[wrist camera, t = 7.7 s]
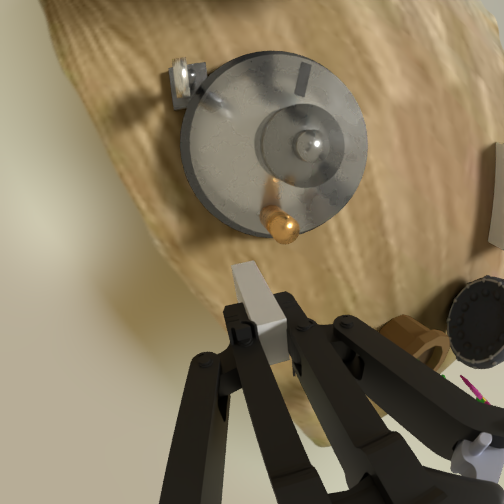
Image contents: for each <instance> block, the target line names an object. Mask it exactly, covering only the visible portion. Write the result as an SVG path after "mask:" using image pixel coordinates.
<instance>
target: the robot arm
mask: <svg viewBox="0 0 504 504" xmlns="http://www.w3.org/2000/svg"><path fill="white" fill-rule="evenodd" d="M231 267H232V273H233V278H234V284H235V289H236V294H237V299H238V303H237V304H232V305H228V306H225V308H224V311H223V314H224V318H225V323H226V327H227V331H228V335H229V339H230V344H229V346H228V348H227V349H226V350H224V351H223V352H221V353H219V354H215V353H213V352H202V353H200V354H197V355H196V356H195V357H194V358H193V359H192V361H191V363H190V367H189V371H188V375H187V379H186V383H185V388H184V392H183V396H182V400H181V405H180V408H179V413H178V417H177V421H176V426H175V430H174V435H173V439H172V444H171V448H170V453H169V457H168V462H167V466H166V472H165V476H164V481H163V486H162V491H161V496H160V501H159V504H221V501H222V488H223V477H224V465H225V453H226V441H227V430H228V418H229V408H230V394H231V393H233V392H235V391H237V390H239V389H241V388H242V389H243V393H244V396H245V400H246V403H247V407H248V410H249V414H250V417H251V421H252V424H253V427H254V431H255V434H256V437H257V441H258V444H259V447H260V450H261V453H262V457H263V460H264V463H265V466H266V470H267V472H268V476H269V479H270V482H271V485H272V488H273V491H274V494H275V497H276V500H277V503H278V504H504V490H503V488H502V487H501V486H500V485H498V481H499V478H500V475H501V471H502V468H503V464H504V408H500V407H496V406H493V405H489V404H485V403H482V402H479V401H477V400H476V399H474V398H473V397H472V396H470V395H469V394H467V393H466V392H464V391H463V390H461V389H460V388H459V387H457V386H456V385H454V384H453V383H451V382H450V381H448V380H447V379H446V378H444V377H443V376H441V375H440V374H438V373H437V372H435V371H434V370H433V369H431V368H430V367H428V366H427V365H425V364H424V363H422V362H421V361H419V360H418V359H417V358H415V357H414V356H412V355H411V354H409V353H408V352H406V351H405V350H403V349H402V348H401V347H399V346H398V345H396V344H395V343H393V342H392V341H390V340H389V339H387V338H386V337H384V336H383V335H382V334H380V333H379V332H377V331H376V330H374V329H373V328H371V327H370V326H368V325H367V324H365V323H364V322H363V321H361V320H360V319H358V318H357V317H355V316H352V315H342V316H339V317H337V318H336V319H335V320H334V322H333V324H329V325H319V324H317V323H316V322H315V321H314V320H312V319H309V318H307V316H306V315H305V313H304V312H303V310H302V309H301V307H300V306H299V305H298V303H297V301H296V300H295V298H294V297H293V295H291V294H290V293H288V292H286V291H285V292H280V293H276V294H272V292H271V290H270V288H269V287H268V285H267V283H266V281H265V280H264V278H263V276H262V274H261V272H260V271H259V269H258V267H257V265H256V263H255V262H254V261H249V262H244V263H240V264H235V265H231ZM289 354H290V356H291V358H292V367H293V377H294V376H295V372H296V374H297V377H298V379H299V381H300V383H301V385H302V387H303V389H304V391H305V393H306V395H307V397H308V399H309V401H310V403H311V405H312V407H313V410H314V412H315V414H316V416H317V418H318V420H319V422H320V424H321V426H322V428H323V430H324V432H325V434H326V436H327V438H328V440H329V442H330V444H331V446H332V448H333V450H334V452H335V454H336V456H337V458H338V460H339V462H340V464H341V466H342V468H343V470H344V473H345V477H346V482H347V485H348V488H349V490H347V491H342V492H336V493H330V494H327V492H326V489H325V487H324V485H323V483H322V481H321V478H320V476H319V474H318V472H317V470H316V469H315V467H313V466H312V465H311V463H310V461H309V459H308V456H307V454H306V452H305V450H304V447H303V445H302V442H301V440H300V438H299V435H298V433H297V431H296V428H295V426H294V424H293V421H292V419H291V416H290V414H289V412H288V409H287V407H286V404H285V402H284V399H283V397H282V395H281V392H280V390H279V387H278V385H277V382H276V380H275V377H274V375H273V372H272V370H271V367H270V365H273V364H276V363H280V362H283V361H287V360H289ZM365 394H366V395H367V396H368V397H369V398H370V399H371V400H372V401H374V402H375V403H376V404H377V405H378V406H379V407H380V408H382V409H383V410H384V411H385V412H386V413H387V414H389V415H390V416H391V417H392V418H393V419H395V420H396V421H397V422H398V423H399V424H400V425H402V426H403V427H404V428H405V429H406V430H407V431H409V432H410V433H411V434H412V435H413V436H415V437H416V438H417V439H418V440H419V441H420V442H422V443H423V444H424V445H425V446H426V447H428V448H429V449H430V450H432V451H433V452H435V453H436V454H437V455H439V456H441V457H443V458H445V459H447V460H450V461H451V471H452V472H453V473H459V474H461V475H462V476H460V475H456V474H452V473H447V472H443V471H440V470H436V469H432V468H428V467H425V466H422V465H421V463H420V462H419V460H418V459H417V457H416V456H415V454H414V453H413V451H412V450H411V448H410V447H409V445H408V444H407V443H406V441H405V439H404V438H403V437H402V436H401V434H400V433H398V432H396V431H395V432H394V431H390V430H389V429H388V428H387V426H386V425H385V423H384V422H383V420H382V419H381V417H380V416H379V414H378V413H377V411H376V410H375V408H374V407H373V405H372V404H371V402H370V401H369V399H368V398H367V396H366V395H365Z"/></svg>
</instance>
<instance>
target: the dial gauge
mask: <svg viewBox="0 0 504 504" xmlns="http://www.w3.org/2000/svg"><path fill="white" fill-rule="evenodd" d="M172 65H173V67H172V68H169V76H170V84H171V92H172V99H173V106H174V111H177V110H182V109H187V107H188V104H189V103H190V101H191V99H192V97H193V95H194V93H195V92H196V90H197V89H198V88H199V86H200V85H201V84H202V83H203V81H204V80H205V79H206V78H207V70H206V63H205V62H202V63H196V64H189V65H187V63H186V57H181V58H176V59H172Z"/></svg>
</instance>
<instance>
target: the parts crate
mask: <svg viewBox="0 0 504 504" xmlns="http://www.w3.org/2000/svg"><path fill="white" fill-rule="evenodd" d="M488 242H489V243H491V244H493V245H495V246H496V247H498V248H500V249H502V250H504V143H498V142H496V170H495V188H494V200H493V209H492V217H491V224H490V231H489V237H488Z"/></svg>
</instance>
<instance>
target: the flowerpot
mask: <svg viewBox="0 0 504 504" xmlns="http://www.w3.org/2000/svg"><path fill="white" fill-rule="evenodd" d="M379 333H380V334H382V335H383V336H384V337H386V338H387V339H389V340H390V341H392V342H393V343H395V344H396V345H398V346H399V347H401V348H402V349H403V350H405V351H406V352H408V353H409V354H411V355H412V356H414V357H415V358H417V359H418V360H419V361H421V362H422V363H424V364H425V365H427V366H428V367H430V368H431V369H433V370H434V371H435V372H436V371H437V370H438V368H439V367H440V366H441V364H442V363H443V362H444V360H445V358H446V356H447V353H448V351H449V349H450V341H449V337H448V336H447V335H446V334H445V333H444V332H443V331H439V330H435V329H433V330H430V329H428V328H427V327H425V326H424V325H422V324H421V323H419V322H418V321H416V320H415V319H413V318H412V317H410V316H407V315H401V316H398V317H395V318H393V319H392V320H390V321H389V322H388V323H387V324H386V325H385V326H383V327H382V328H381V330H380V332H379ZM441 376H443V377H444V378H445V376H444V375H441ZM460 377H461V378H462V380H463V381H464V382H465V384H466V385H467V386H468V387H469V388H470V390H472V392H473V393H474V394H475V395H476V396H477V398H476V400H477V401H479V402H482V403H485V404H489V405H491V404H490V403H489V402H488V401H487V400H486V399H485V398H484V397H483V396H482V395H481V394H480V393H479V391H478V390H477V389H476V388H475V387H474V386H473V385H472V384H471V383H470V382H469V381H468V380H467V379H466V378H464V377H463V376H462V375H460Z"/></svg>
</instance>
